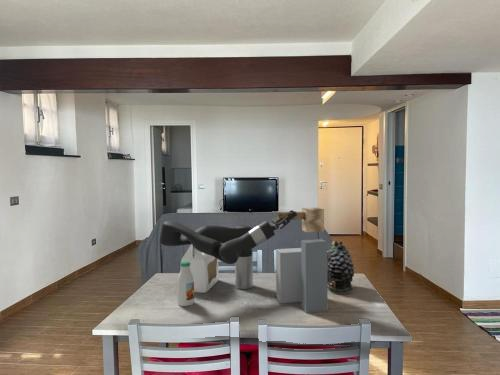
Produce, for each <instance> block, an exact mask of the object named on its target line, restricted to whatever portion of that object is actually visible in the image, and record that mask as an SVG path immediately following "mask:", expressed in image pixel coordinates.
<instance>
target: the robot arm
mask: <svg viewBox="0 0 500 375" xmlns="http://www.w3.org/2000/svg"><path fill="white" fill-rule="evenodd" d="M288 212H291V213H290V214H288V215H286V216H285V217H281V218H279V219H277V216H275V217H273V218H271V219H270V222H268V220H264V221H263V222H261V223H259V224H258V225H255V226H254V227H251V226H248V225H243V224H239V225H238V224H237V225H236V226H235V228H233V227H228V226H221V225H210V224H209V225H208V224H207V225H206V224H205V225H202V226H200V227H198V228H196V229H195V230H194V229H192V228H190V227H188V226H186V225H184V224H183V223H180V222H178V221H175V220H166V221H164V222H162V225H161V230H160V236H159V243H160V244H161V245H163V246H165V247H177V246H178V247H180V246H188V245H189V246H190V245H191V244H192V245H193V246H194V247H195V248H196V249H197V250H198V251H200V252H202V253H205V254H208V255H211V256H213V257H215V258H217V259H218V261H220V262H222V263H224V264H227V265H234V264H235V269H234V273H235V274H234V276H235V280H234V281H235V283H234V284H235V288H236V290H238V289H240V290H249V289H252V288H253V287H254V270H253V269H254V267H253V266H254V265H253V264H254V262H253V259H254V258H253V257H254V256H253V249H254V248H255V247H257V246H259V245H261V244H263V243H265V242H267V240H270V239H271V238H273V237H274V236H275V233H276V232H275V231H276V230H282V229H283V228H284V227H286V226H287V225H288V224H289V223H290V222H291V220H290V219H292V218H294V217H295V216H297V214H296V212H297V211H295V210H292V209H291V210H289V211H288Z"/></svg>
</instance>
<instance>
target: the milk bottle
mask: <svg viewBox="0 0 500 375" xmlns="http://www.w3.org/2000/svg"><path fill="white" fill-rule="evenodd" d="M179 264H180V265H179V266H180V272H179V274H178V275H177V276H178V277H177V282H176V283H177V304H178V306H180V307H189V306H192V305H194V303H195V292H194V279H193V275H192V273H191V271H190V262H189V261H183V262H182V261H181V262H180V263H179Z"/></svg>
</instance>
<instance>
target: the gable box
mask: <svg viewBox="0 0 500 375" xmlns="http://www.w3.org/2000/svg"><path fill="white" fill-rule="evenodd" d="M183 261H189V262H190V271H191V273H192V275H193V279H194V293H201V294H202V293H203V294H206V293H207V292H208V291H210V289H211V288H212V287H213V286H214V285H216V283H217V282H218V281H219V260H218V259H217V258H215V257H213V256H211V255H208V254H205V253H202V252H200V251H198V250H197V249H196V248H195V247H194V246H193V245H192V244H189V247H188V248H187V250H186V252H185V253H184V255H183V256H182V258H181V262H183Z"/></svg>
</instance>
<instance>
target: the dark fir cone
mask: <svg viewBox="0 0 500 375" xmlns="http://www.w3.org/2000/svg"><path fill="white" fill-rule="evenodd" d="M352 260H353V259H352V255H351V253H350V252H349V251H348V249H347V247H346V246H345V245H343V242H342V241H339V242H338V241H337V240H333V241H332V242H331V247H330V248H329V249H328V250H327V285H328V290H329V291H330V292H332V293H333V294H340V295H342V294H349V293H351V292H352V290H353V287H352V282H353V278H354V277H355V275H354V274H355V271H354V269H355V267H354V265H355V264H354V262H353V261H352Z"/></svg>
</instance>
